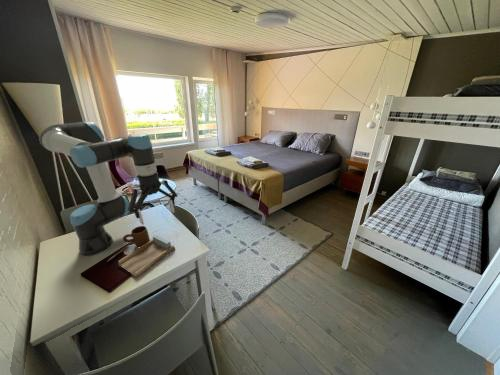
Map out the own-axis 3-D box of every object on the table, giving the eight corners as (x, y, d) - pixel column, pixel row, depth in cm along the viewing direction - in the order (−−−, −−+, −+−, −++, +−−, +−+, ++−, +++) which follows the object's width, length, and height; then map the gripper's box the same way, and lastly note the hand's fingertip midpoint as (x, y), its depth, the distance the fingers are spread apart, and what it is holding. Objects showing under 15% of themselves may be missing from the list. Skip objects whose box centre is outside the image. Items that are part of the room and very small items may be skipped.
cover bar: (154, 242, 114) (152, 236, 112) (157, 240, 115) (155, 234, 113) (168, 249, 108) (166, 243, 106) (171, 247, 109) (170, 241, 108)
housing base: (118, 265, 100) (116, 261, 99) (157, 240, 117) (156, 236, 116) (136, 278, 93) (134, 274, 92) (175, 249, 110) (174, 245, 109)
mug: (128, 254, 108) (122, 239, 104) (125, 246, 113) (120, 232, 109) (152, 244, 114) (148, 230, 110) (148, 237, 120) (144, 224, 116)
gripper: (115, 184, 73) (130, 232, 82) (180, 167, 89) (187, 210, 98) (110, 179, 78) (125, 225, 87) (172, 164, 94) (180, 204, 103)
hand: (158, 217), depth 93 cm, fingers open, 13 cm apart
